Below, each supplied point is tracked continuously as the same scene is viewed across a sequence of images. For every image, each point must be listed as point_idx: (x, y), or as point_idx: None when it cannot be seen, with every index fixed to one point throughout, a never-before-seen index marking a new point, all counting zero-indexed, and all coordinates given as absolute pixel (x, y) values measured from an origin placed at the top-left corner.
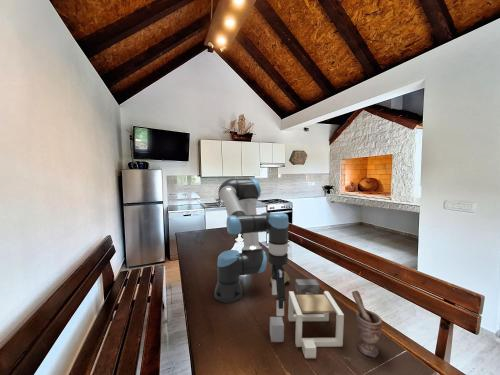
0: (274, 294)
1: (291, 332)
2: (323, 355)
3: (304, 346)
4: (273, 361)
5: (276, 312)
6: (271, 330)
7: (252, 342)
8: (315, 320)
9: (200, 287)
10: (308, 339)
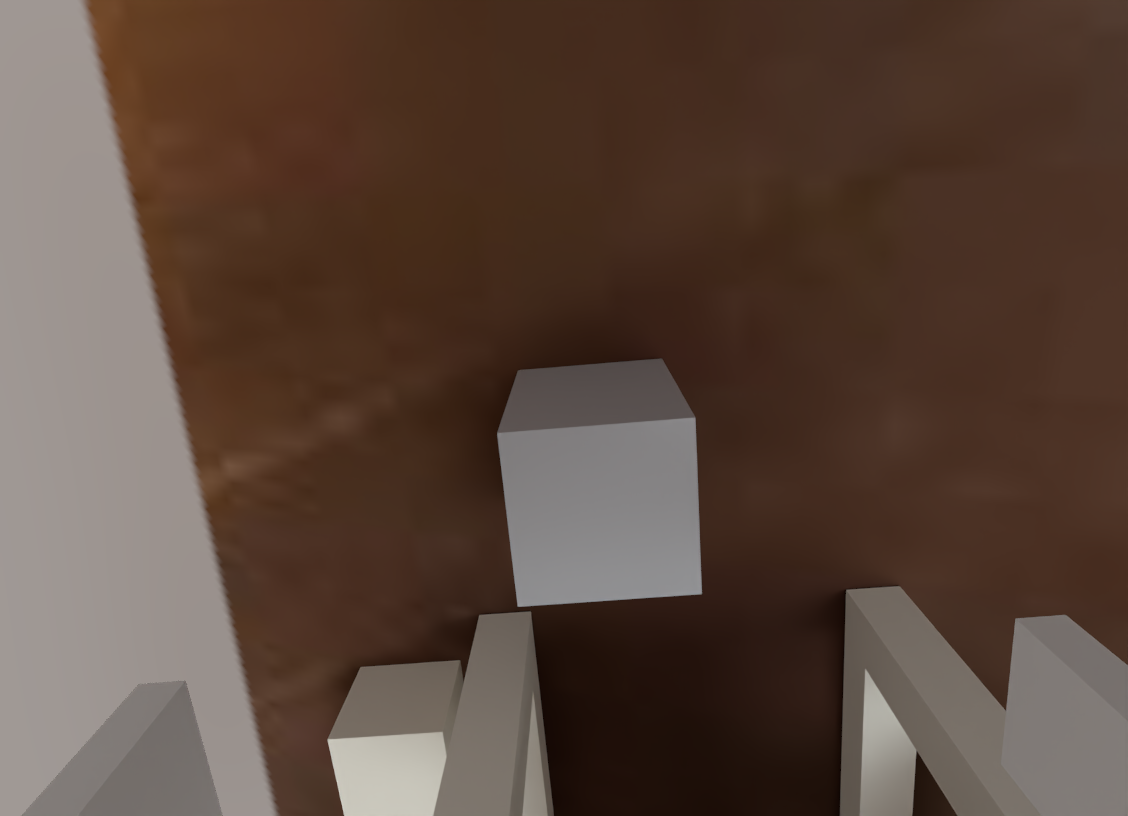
0: (1018, 681)
1: None
2: None
3: (363, 729)
4: (272, 385)
5: (141, 722)
6: (506, 411)
7: (488, 144)
8: None
9: None
10: None
